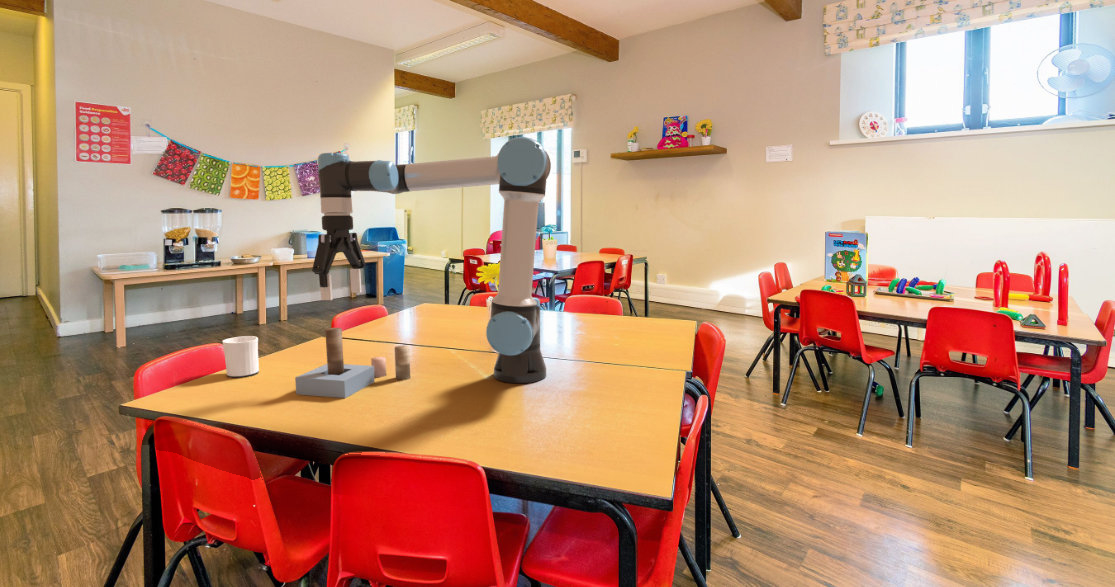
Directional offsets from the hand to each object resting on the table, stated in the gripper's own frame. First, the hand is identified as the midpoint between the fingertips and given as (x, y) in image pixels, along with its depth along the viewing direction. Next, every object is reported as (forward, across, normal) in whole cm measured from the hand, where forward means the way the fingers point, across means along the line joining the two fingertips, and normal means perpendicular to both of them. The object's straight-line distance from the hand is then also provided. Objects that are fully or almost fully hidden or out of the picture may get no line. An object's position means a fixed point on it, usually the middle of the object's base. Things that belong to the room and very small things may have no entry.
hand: (342, 296), depth 143 cm
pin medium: (+25, -10, +11) cm, 29 cm away
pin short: (+25, -11, +3) cm, 27 cm away
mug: (+24, -5, -37) cm, 45 cm away
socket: (+25, +2, -2) cm, 25 cm away
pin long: (+25, +2, -2) cm, 25 cm away
